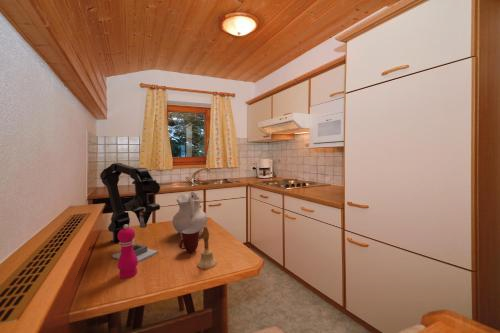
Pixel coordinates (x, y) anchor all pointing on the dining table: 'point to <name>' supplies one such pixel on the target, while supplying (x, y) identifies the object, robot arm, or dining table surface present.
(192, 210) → the ceramic pitcher
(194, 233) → the mug
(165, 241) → the dining table surface
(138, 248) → the grey plate with socket
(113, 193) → the robot arm
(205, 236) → the hand bell
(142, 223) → the pin
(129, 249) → the pepper mill
